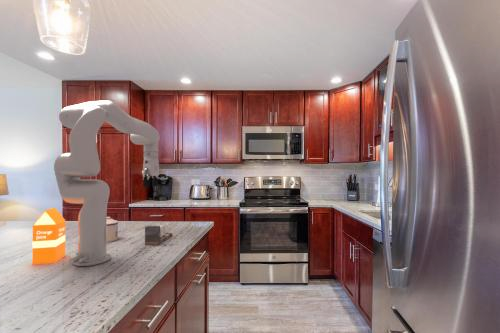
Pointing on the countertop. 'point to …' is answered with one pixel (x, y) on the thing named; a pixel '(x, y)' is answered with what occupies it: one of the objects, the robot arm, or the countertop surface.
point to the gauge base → (154, 235)
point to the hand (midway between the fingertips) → (150, 186)
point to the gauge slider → (161, 229)
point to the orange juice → (49, 237)
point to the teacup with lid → (112, 230)
